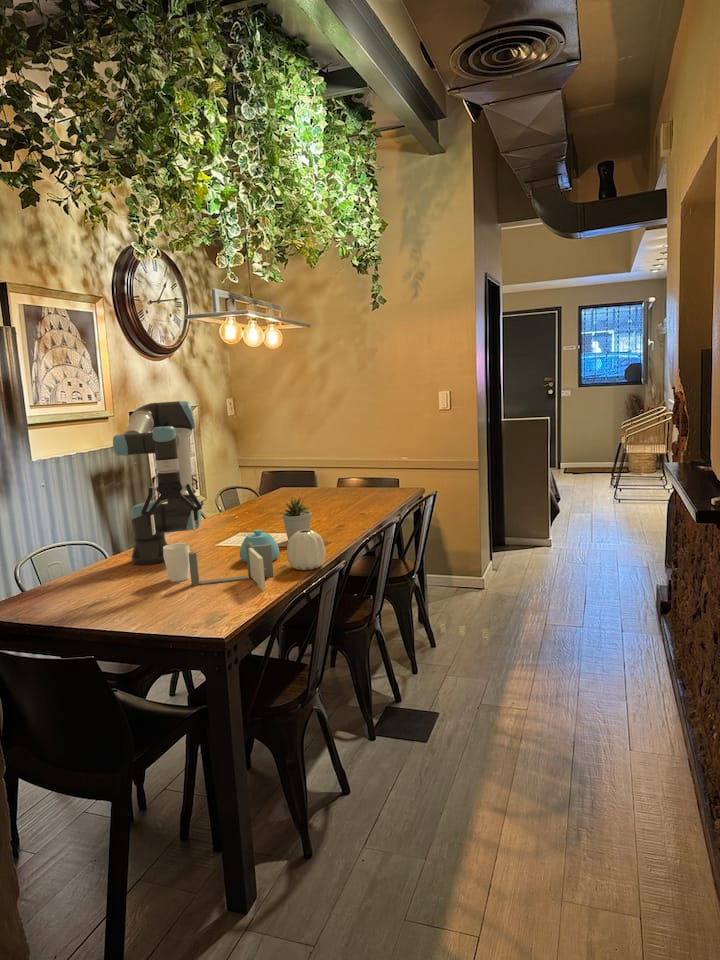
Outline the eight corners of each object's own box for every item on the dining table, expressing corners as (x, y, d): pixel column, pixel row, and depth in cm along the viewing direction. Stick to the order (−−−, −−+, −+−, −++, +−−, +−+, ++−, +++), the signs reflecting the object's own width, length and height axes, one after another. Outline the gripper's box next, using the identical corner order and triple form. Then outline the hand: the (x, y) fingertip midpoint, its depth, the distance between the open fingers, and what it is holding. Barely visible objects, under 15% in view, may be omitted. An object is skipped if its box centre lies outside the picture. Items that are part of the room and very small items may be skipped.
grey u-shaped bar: (192, 583, 220) (188, 549, 219) (273, 574, 225) (270, 540, 224) (191, 585, 217) (188, 551, 216) (273, 576, 223) (270, 542, 221)
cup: (172, 584, 220) (168, 550, 219) (162, 579, 227) (158, 546, 226) (196, 578, 226) (193, 545, 224) (185, 573, 233) (182, 541, 231)
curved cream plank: (250, 576, 221) (248, 548, 219) (257, 575, 222) (255, 547, 220) (261, 588, 206) (259, 558, 205) (269, 587, 207) (266, 557, 206)
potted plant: (275, 541, 274) (271, 495, 272) (301, 535, 283) (298, 490, 281) (293, 545, 265) (289, 498, 262) (319, 539, 274) (316, 492, 271)
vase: (280, 568, 232) (277, 532, 230) (312, 560, 241) (309, 525, 239) (302, 575, 222) (299, 537, 220) (334, 566, 230) (332, 529, 228)
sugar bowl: (287, 556, 249) (285, 527, 247) (261, 566, 236) (258, 536, 235) (259, 553, 257) (256, 524, 255) (232, 562, 245) (229, 532, 243)
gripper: (128, 475, 215) (135, 537, 218) (204, 469, 220) (210, 530, 223) (131, 473, 223) (138, 533, 225) (205, 467, 227) (211, 526, 230)
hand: (174, 532), depth 224 cm, fingers open, 13 cm apart
